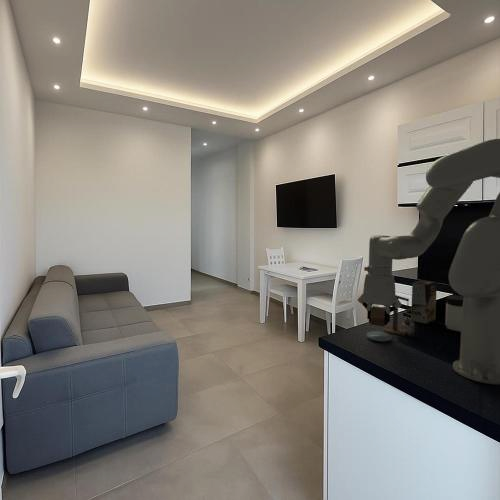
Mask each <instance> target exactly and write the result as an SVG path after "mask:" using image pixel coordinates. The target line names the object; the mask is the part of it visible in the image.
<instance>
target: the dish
mask: <svg viewBox="0 0 500 500" xmlns="http://www.w3.org/2000/svg"><path fill="white" fill-rule="evenodd" d="M366 337H367V338H368V339H370V340H372V341H374V342H382V343H384V342H388V341H391V340H392V335H391V334H390V333H385V332H384V331H378V330H377V331H376V330H375V331H374V330H373V331H372V330H371V331H367V332H366Z"/></svg>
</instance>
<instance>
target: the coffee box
mask: <svg viewBox="0 0 500 500" xmlns="http://www.w3.org/2000/svg"><path fill="white" fill-rule="evenodd" d="M411 284H412V286H411V287H412V288H411V309H410V311H411V313H410V321H413V322H416V323H417V322H418V323H421V324H425V325H427V324H429V323H430V322H433V321H435V320H436V313H437V312H436V310H437V291H438V290H437V288H438V287H437V286H438V281H432V280H431V281H430V280H421V279H420V280H417V281H413V282H411Z"/></svg>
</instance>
